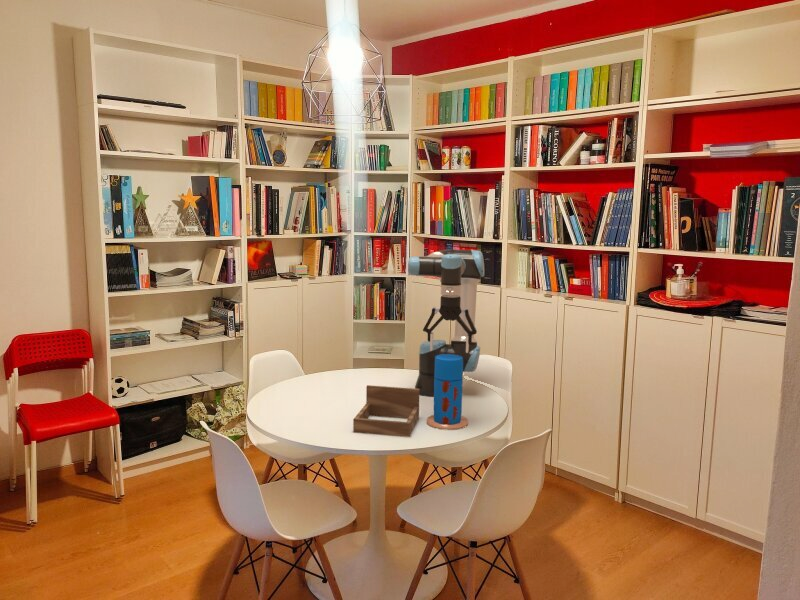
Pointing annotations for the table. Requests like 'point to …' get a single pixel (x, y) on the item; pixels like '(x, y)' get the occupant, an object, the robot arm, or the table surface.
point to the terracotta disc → (441, 426)
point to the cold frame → (388, 411)
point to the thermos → (448, 389)
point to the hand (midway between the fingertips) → (449, 350)
